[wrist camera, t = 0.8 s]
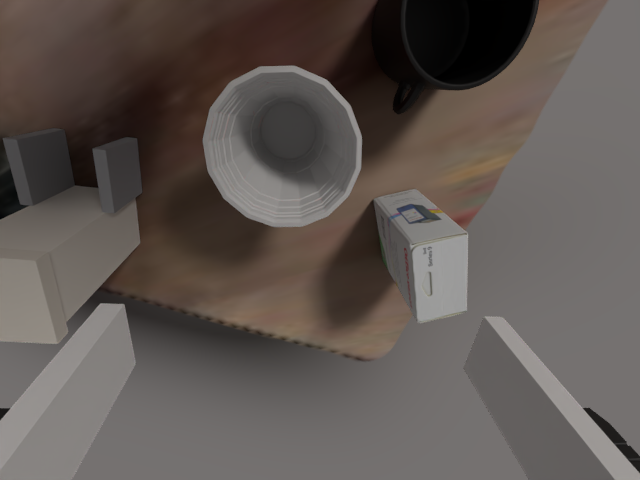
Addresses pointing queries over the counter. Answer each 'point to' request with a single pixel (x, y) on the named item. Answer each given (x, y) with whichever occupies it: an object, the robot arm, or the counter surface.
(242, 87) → the plastic cup
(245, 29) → the counter surface
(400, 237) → the ink box
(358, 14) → the counter surface
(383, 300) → the counter surface
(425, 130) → the counter surface
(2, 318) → the grey forked bracket
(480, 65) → the mug
